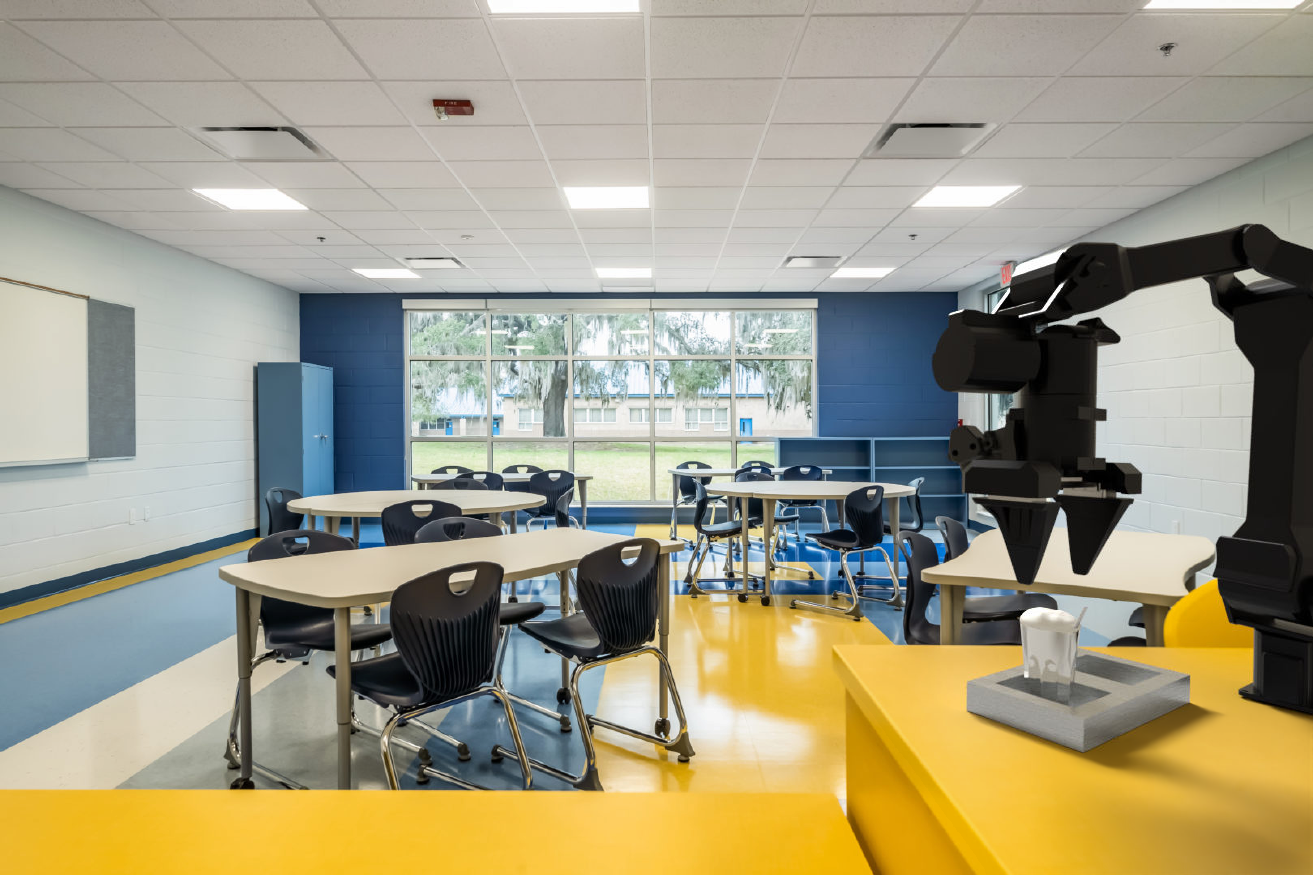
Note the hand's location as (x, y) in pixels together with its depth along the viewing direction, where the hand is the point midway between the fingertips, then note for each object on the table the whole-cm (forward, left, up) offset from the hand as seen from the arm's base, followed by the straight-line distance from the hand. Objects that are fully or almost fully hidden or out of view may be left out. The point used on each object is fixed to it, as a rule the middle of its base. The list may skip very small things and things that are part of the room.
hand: (1053, 579), depth 59 cm
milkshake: (0, 0, -12) cm, 12 cm away
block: (-5, 0, -12) cm, 13 cm away
